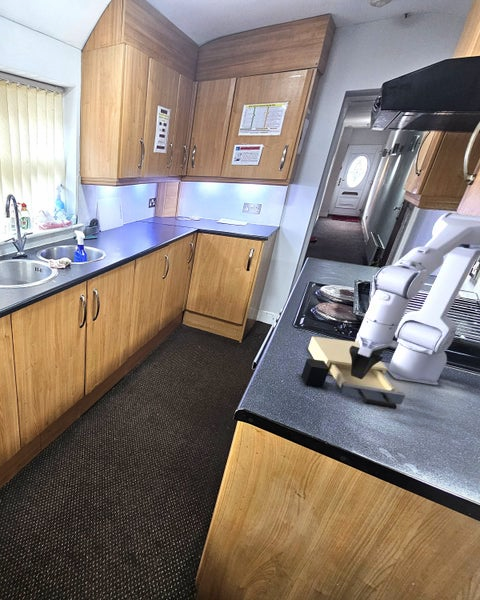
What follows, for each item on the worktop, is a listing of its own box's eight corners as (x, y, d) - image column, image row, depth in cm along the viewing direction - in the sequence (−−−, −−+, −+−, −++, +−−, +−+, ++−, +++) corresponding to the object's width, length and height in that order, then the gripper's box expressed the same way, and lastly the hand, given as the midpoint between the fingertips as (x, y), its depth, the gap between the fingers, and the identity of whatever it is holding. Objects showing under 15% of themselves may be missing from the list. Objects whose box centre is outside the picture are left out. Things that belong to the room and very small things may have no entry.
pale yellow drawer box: (381, 382, 88) (387, 368, 86) (322, 373, 92) (327, 359, 90) (358, 355, 100) (364, 342, 98) (308, 348, 104) (312, 336, 102)
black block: (317, 379, 90) (324, 360, 87) (322, 388, 86) (329, 369, 84) (301, 376, 91) (307, 358, 88) (305, 385, 87) (311, 366, 85)
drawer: (410, 416, 75) (415, 407, 74) (347, 405, 79) (351, 396, 78) (375, 374, 90) (379, 366, 89) (323, 366, 93) (326, 358, 92)
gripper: (399, 337, 65) (374, 391, 70) (412, 316, 73) (390, 366, 79) (355, 324, 70) (336, 376, 75) (372, 306, 78) (354, 354, 84)
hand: (361, 370), depth 77 cm, fingers open, 7 cm apart
